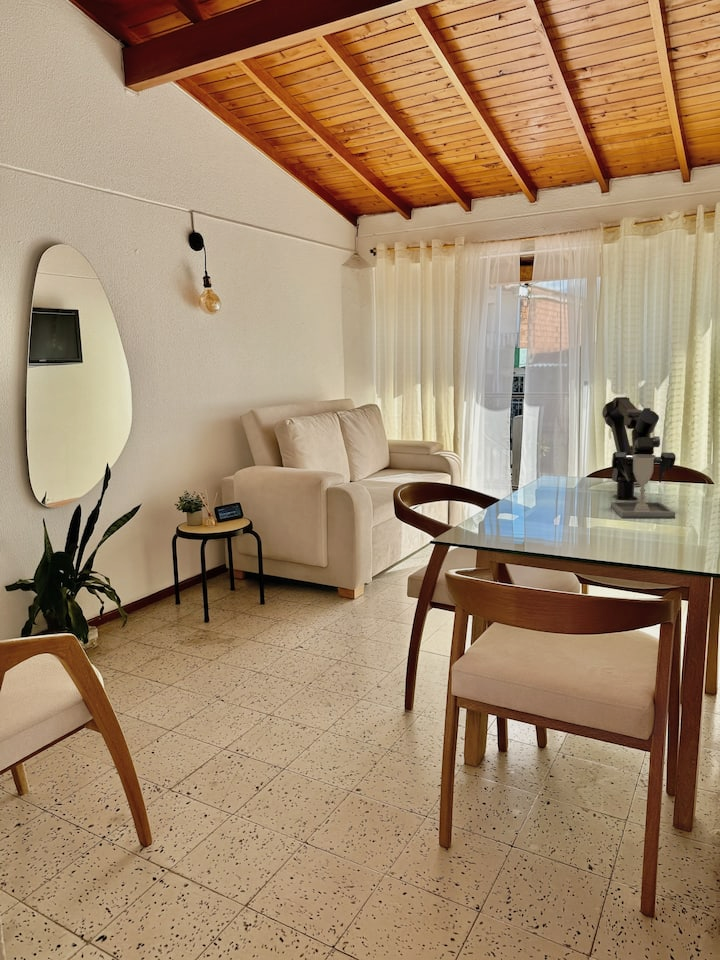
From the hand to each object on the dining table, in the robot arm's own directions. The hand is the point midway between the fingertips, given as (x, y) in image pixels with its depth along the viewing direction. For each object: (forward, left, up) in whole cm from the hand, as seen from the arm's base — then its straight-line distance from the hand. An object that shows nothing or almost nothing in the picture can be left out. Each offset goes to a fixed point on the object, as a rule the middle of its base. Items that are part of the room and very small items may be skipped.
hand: (644, 481), depth 217 cm
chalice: (-2, 0, -10) cm, 10 cm away
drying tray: (-2, 0, -11) cm, 11 cm away
